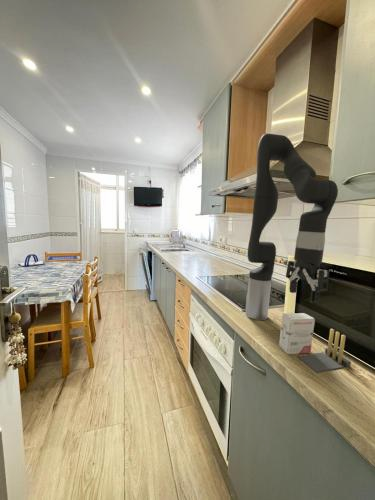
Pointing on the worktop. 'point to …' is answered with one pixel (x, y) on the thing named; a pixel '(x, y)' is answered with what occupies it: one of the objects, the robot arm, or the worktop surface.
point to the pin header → (333, 353)
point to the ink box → (296, 333)
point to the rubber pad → (320, 362)
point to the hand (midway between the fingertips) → (302, 297)
